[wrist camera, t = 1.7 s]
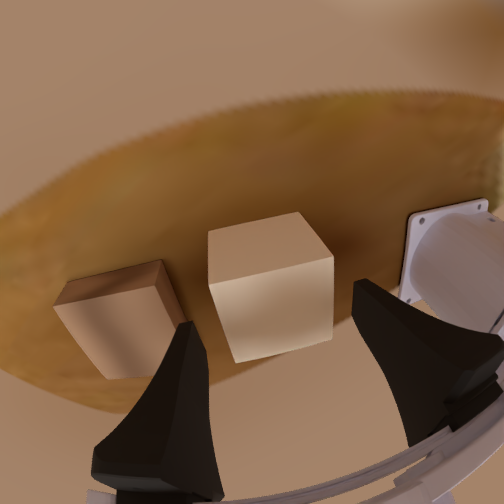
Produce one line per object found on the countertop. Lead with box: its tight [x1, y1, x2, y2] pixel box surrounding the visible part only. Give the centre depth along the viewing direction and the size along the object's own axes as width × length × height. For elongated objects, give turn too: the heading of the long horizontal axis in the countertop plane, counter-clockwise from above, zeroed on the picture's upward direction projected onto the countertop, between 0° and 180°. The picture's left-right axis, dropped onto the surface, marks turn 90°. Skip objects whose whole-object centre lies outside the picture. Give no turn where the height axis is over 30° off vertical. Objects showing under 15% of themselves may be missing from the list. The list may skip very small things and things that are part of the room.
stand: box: [53, 260, 187, 379], centre depth 16 cm, size 7×7×2 cm
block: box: [208, 212, 334, 363], centre depth 14 cm, size 5×5×5 cm
